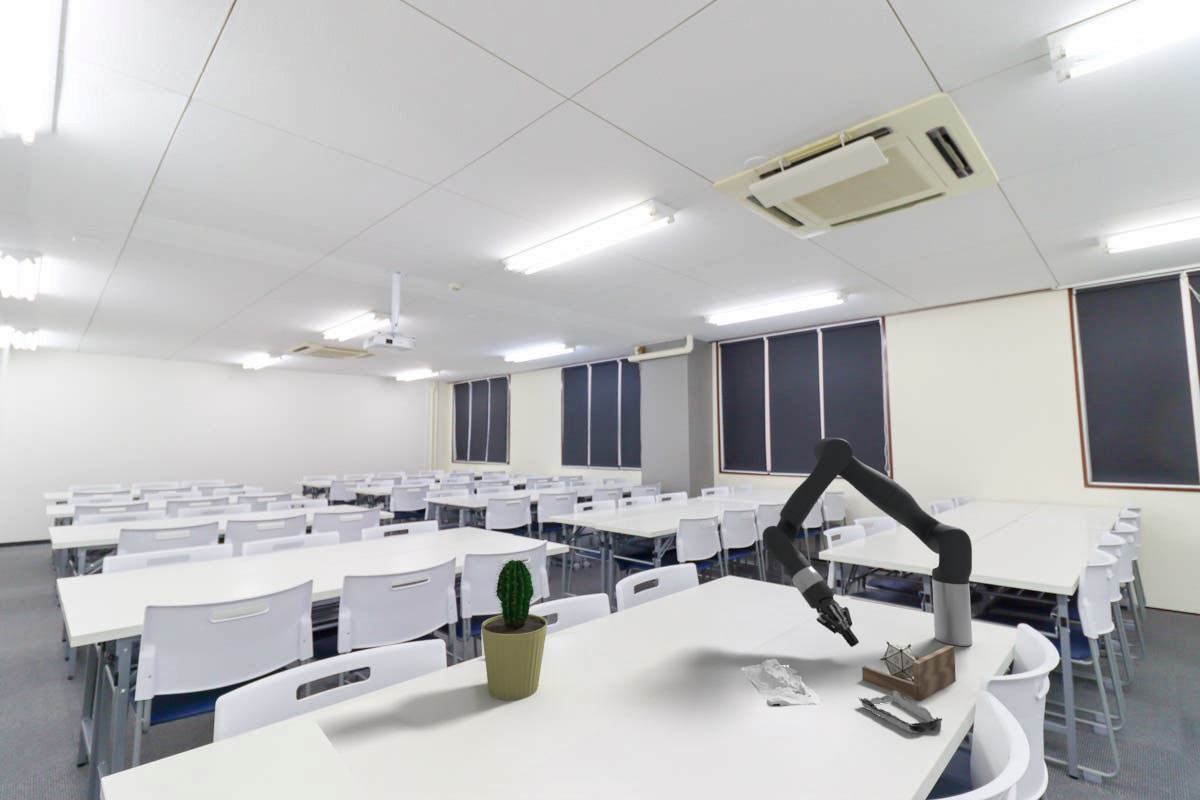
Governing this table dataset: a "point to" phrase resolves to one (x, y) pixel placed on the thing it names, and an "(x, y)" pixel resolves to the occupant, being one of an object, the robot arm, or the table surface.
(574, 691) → the table surface
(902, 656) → the game die
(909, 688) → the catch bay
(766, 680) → the terrain model
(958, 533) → the robot arm
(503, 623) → the potted cactus
